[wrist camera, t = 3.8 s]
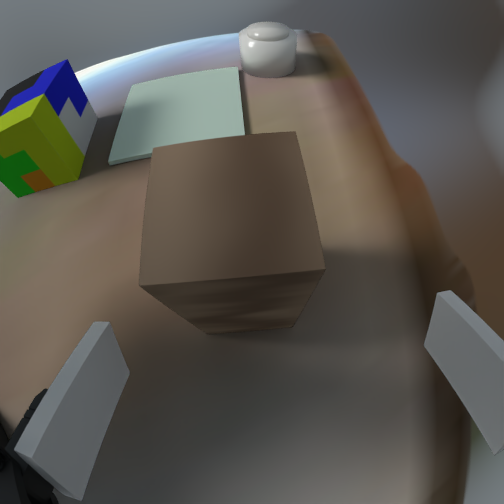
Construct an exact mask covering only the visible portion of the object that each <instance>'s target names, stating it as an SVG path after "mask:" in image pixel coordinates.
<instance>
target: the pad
mask: <svg viewBox="0 0 504 504" xmlns="http://www.w3.org/2000/svg"><path fill="white" fill-rule="evenodd" d="M240 135H245V132H244V122H243V112H242V103H241V93H240V84H239V74H238V67H229V68H221V69H213V70H205V71H198V72H192V73H186V74H180V75H175V76H170V77H165V78H160V79H156V80H151V81H147V82H143V83H138V84H134V85H132V87H131V90H130V92H129V95H128V98H127V101H126V104H125V107H124V110H123V113H122V116H121V119H120V122H119V125H118V128H117V131H116V135H115V138H114V141H113V145H112V149H111V152H110V156H109V160H108V163H109V164H110V165H114V164H119V163H124V162H128V161H133V160H138V159H144V158H149V157H152V151H153V148H155V147H160V146H166V145H172V144H178V143H184V142H191V141H198V140H205V139H213V138H221V137H230V136H240Z"/></svg>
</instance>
